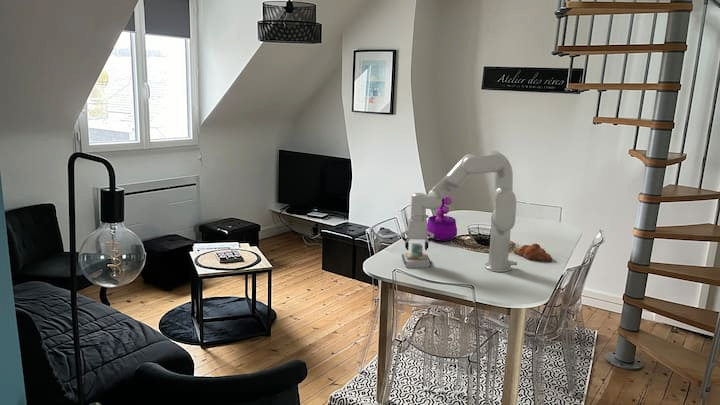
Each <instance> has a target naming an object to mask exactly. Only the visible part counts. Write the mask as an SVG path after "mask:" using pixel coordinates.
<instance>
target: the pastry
mask: <svg viewBox="0 0 720 405" xmlns="http://www.w3.org/2000/svg"><path fill="white" fill-rule="evenodd" d="M513 254H515V255H517V256H519V257H522V258H524V259H526V260H528V261H539V262H540V261H541V262H544V263H552V262H553V258H552V255H551V254H549V253H548V252H547V251H546V250H545V249H544V248H541V245H540V244H538V243H533V244H531V245H529V244H528V245H527V244H525V245H522V246H521V247H516V248H515V249H514V250H513Z"/></svg>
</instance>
